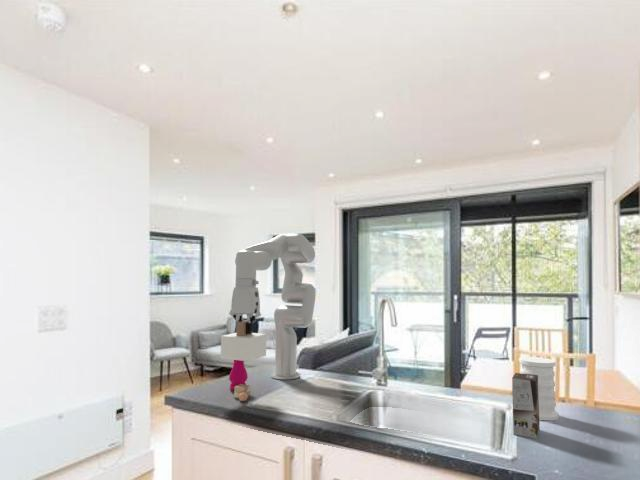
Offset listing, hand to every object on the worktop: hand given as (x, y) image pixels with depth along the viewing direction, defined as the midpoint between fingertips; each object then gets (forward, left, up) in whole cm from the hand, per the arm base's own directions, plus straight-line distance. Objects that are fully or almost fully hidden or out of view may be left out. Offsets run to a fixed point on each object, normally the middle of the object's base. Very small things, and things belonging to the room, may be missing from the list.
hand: (244, 332), depth 154 cm
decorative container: (-25, +99, -24) cm, 105 cm away
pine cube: (-2, -1, -24) cm, 24 cm away
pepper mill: (-11, -9, -24) cm, 28 cm away
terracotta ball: (+3, +2, -24) cm, 24 cm away
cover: (0, 0, -9) cm, 9 cm away
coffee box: (-6, +94, -24) cm, 97 cm away
